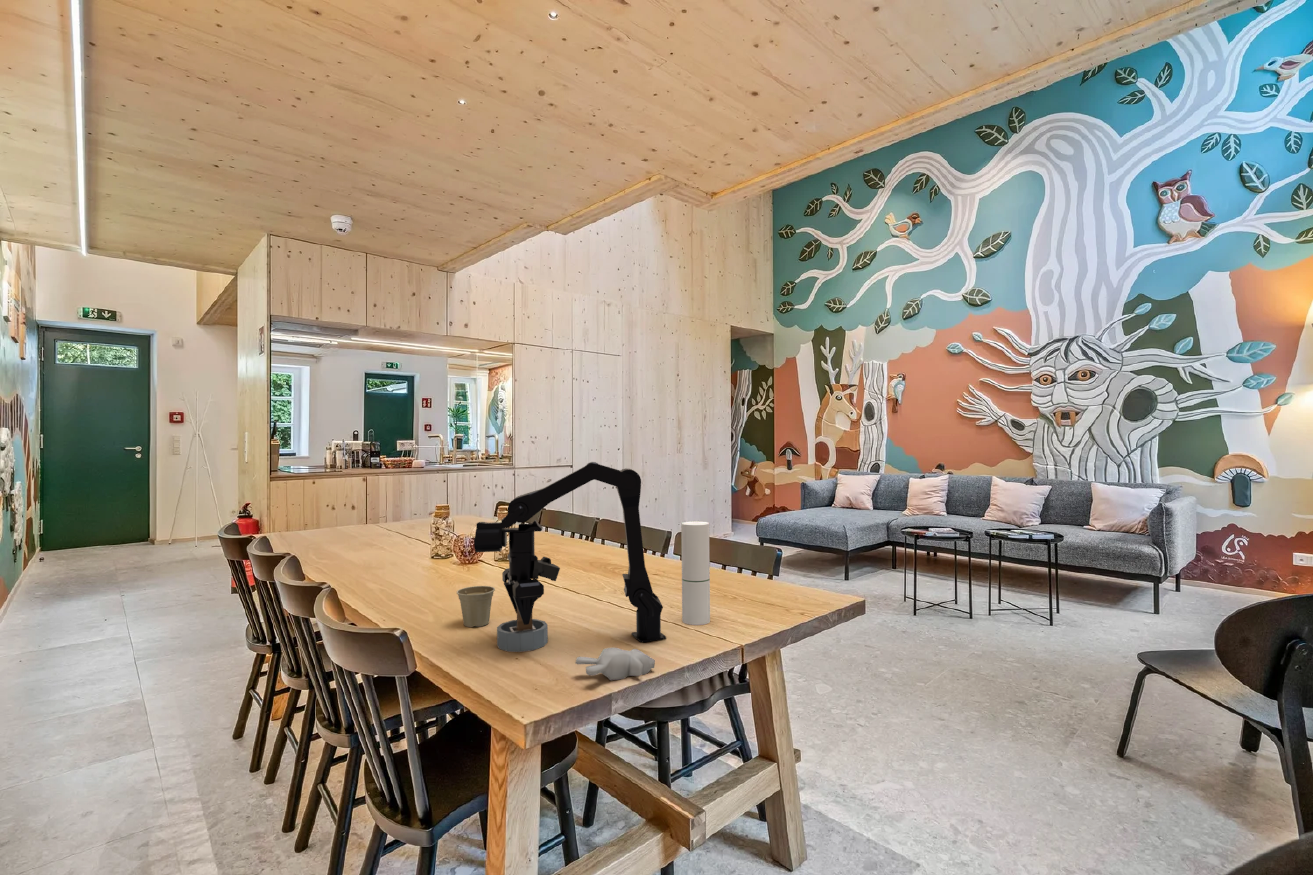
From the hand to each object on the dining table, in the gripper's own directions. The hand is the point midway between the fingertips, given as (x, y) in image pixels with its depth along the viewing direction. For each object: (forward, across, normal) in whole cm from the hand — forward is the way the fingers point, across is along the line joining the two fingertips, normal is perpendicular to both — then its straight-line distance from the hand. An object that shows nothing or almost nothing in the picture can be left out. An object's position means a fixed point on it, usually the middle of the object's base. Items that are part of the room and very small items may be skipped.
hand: (522, 618), depth 140 cm
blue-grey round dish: (+6, 0, 0) cm, 6 cm away
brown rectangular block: (+5, 0, 0) cm, 5 cm away
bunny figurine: (+6, -27, -13) cm, 31 cm away
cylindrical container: (+6, -1, -44) cm, 44 cm away
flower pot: (+6, +20, +8) cm, 22 cm away
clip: (+6, 0, 0) cm, 6 cm away
